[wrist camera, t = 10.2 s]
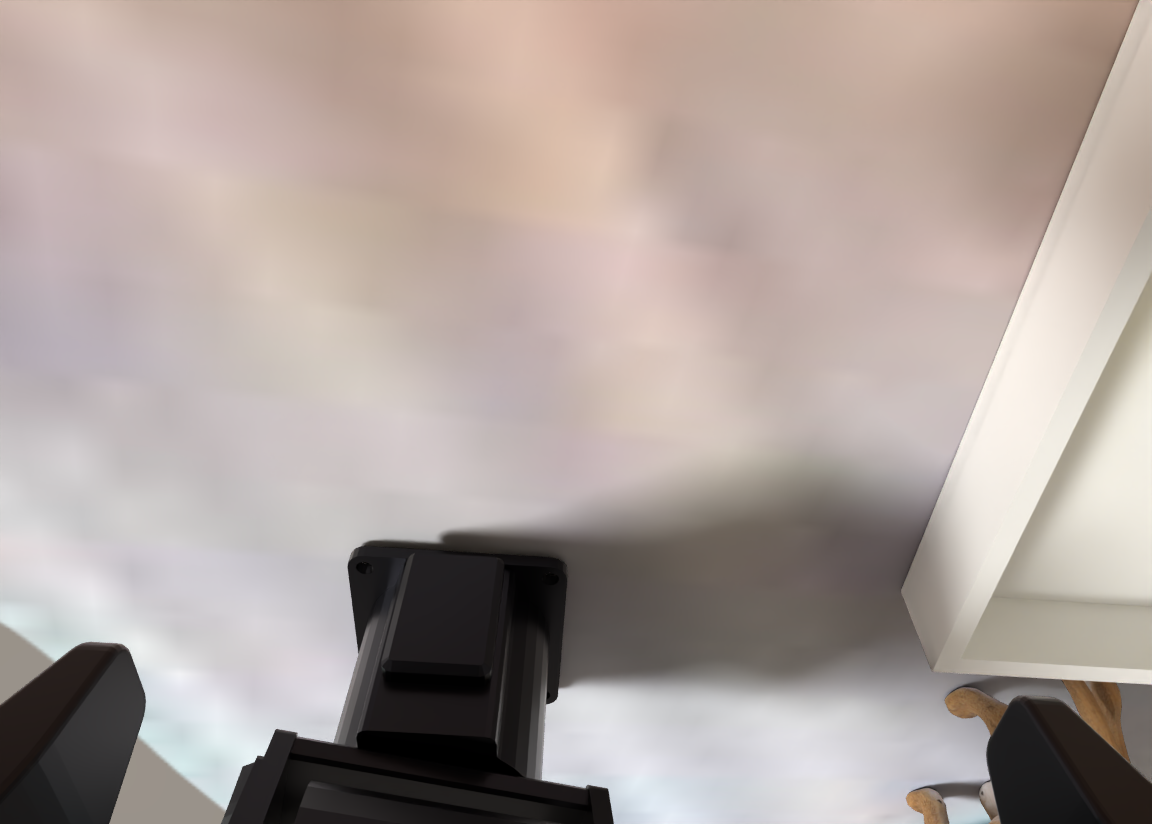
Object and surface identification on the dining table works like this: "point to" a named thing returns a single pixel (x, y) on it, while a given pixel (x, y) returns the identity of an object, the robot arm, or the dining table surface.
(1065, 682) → the lion figurine
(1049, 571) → the tray
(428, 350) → the dining table surface
